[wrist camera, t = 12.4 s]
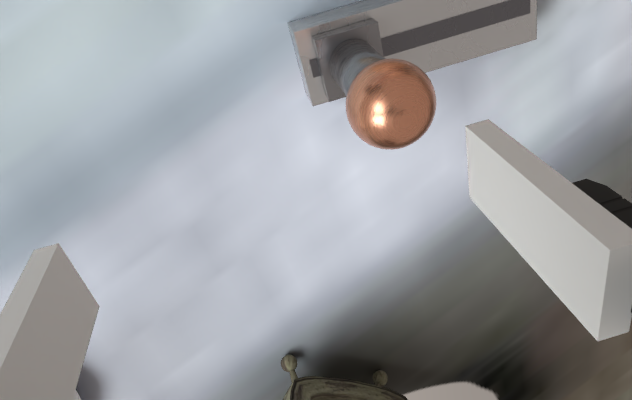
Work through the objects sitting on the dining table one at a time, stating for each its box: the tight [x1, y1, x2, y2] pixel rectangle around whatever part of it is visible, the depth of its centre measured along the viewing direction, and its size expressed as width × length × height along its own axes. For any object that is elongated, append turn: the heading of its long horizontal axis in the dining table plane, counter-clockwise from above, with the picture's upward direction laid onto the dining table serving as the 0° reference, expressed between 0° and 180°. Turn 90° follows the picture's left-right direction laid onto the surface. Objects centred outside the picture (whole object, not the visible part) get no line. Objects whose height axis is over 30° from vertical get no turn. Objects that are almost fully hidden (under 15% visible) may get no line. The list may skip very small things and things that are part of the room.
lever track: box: [288, 0, 537, 106], centre depth 33 cm, size 5×16×3 cm, turn 103°
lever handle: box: [311, 18, 436, 149], centre depth 27 cm, size 4×4×11 cm
